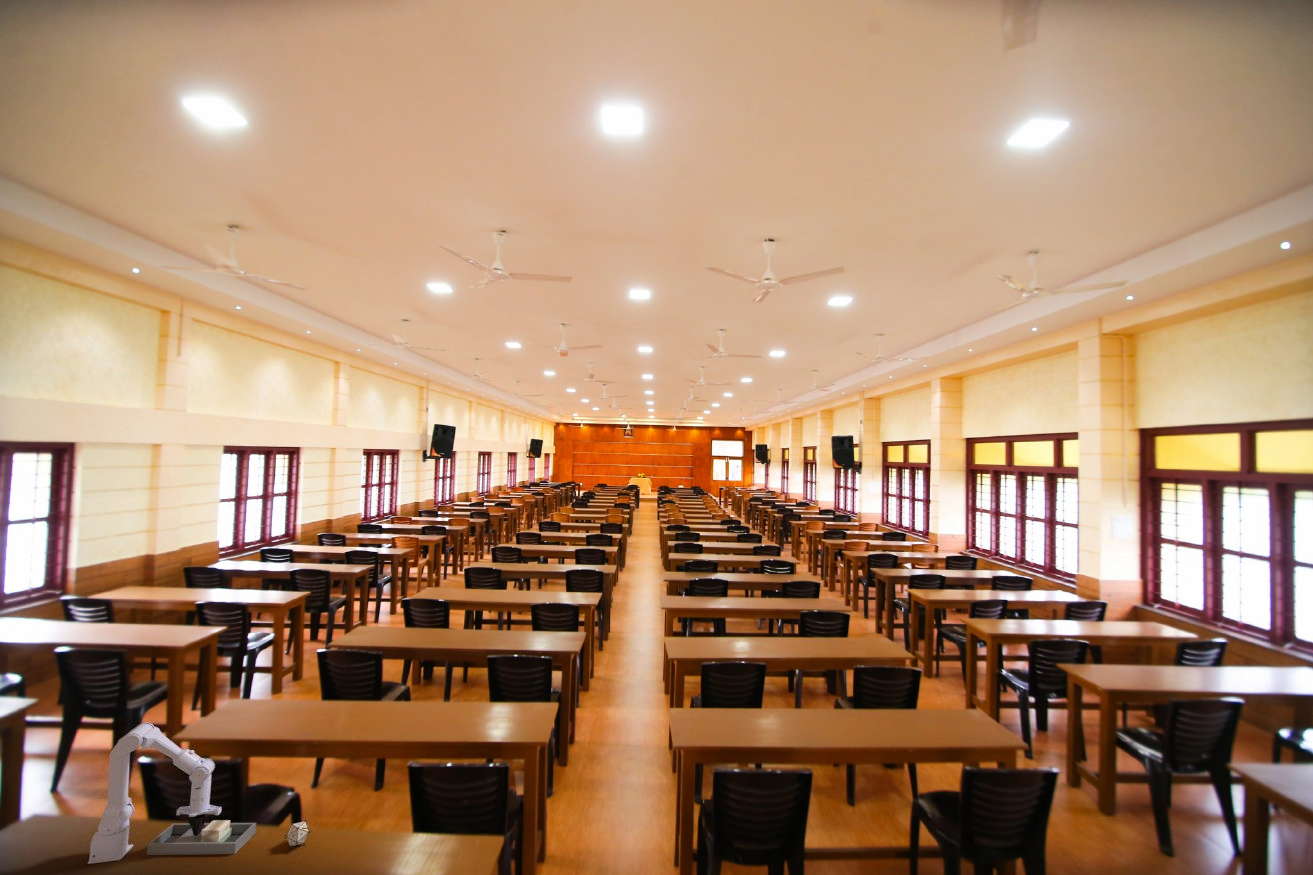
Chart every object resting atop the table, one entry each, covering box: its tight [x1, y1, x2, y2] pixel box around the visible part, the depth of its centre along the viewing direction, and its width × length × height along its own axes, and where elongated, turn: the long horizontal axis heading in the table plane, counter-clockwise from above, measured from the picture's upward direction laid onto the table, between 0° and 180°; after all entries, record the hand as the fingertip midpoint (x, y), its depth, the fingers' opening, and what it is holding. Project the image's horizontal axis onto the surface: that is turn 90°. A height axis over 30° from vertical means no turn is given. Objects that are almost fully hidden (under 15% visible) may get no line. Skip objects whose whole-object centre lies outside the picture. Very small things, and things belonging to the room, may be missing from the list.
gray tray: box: [146, 822, 257, 856], centre depth 212 cm, size 30×12×4 cm, turn 94°
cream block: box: [201, 819, 231, 842], centre depth 213 cm, size 6×6×4 cm
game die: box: [284, 818, 312, 850], centre depth 214 cm, size 9×8×10 cm
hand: (197, 834), depth 212 cm, fingers closed
